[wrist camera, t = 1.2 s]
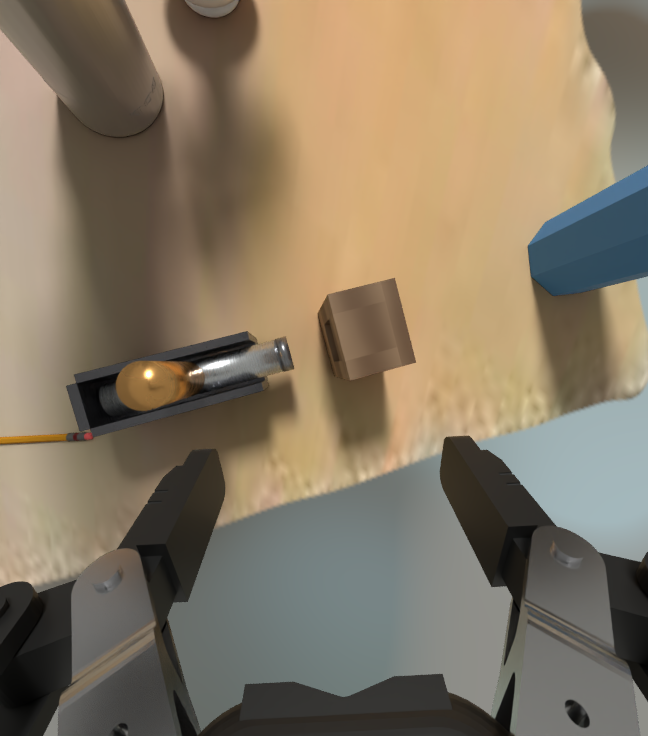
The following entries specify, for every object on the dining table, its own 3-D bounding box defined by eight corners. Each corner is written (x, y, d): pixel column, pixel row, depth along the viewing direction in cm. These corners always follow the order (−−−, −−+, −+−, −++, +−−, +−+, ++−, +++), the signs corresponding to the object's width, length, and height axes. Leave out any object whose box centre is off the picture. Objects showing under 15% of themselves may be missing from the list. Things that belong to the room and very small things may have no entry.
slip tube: (125, 413, 28) (26, 444, 17) (116, 381, 28) (9, 392, 17) (294, 368, 29) (295, 371, 19) (285, 337, 29) (283, 323, 19)
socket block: (334, 376, 33) (350, 380, 24) (317, 313, 33) (327, 294, 24) (382, 362, 33) (415, 362, 24) (366, 301, 33) (394, 278, 24)
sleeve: (126, 423, 31) (82, 439, 24) (111, 374, 30) (63, 377, 24) (269, 385, 32) (263, 390, 26) (256, 337, 32) (247, 331, 25)
